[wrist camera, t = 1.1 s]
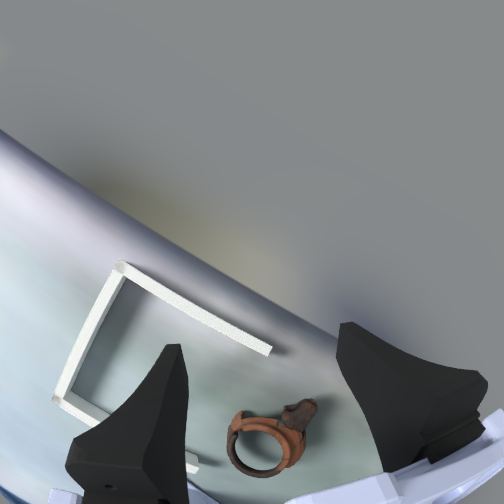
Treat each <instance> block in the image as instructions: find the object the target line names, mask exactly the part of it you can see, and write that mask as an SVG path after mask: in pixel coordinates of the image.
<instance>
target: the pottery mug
mask: <svg viewBox="0 0 504 504" xmlns="http://www.w3.org/2000/svg"><path fill="white" fill-rule="evenodd" d="M317 410H318V407H317V403H316V402H315V401H314V400H313V399H303V400H301V401H300V402H298V403H297V404H295V405H290V406H289V405H286V406H284V412H282V415H281V417H282V422H283V424H284V425H285V426H279V425H278V420H277V419H272V418H265V417H249V418H245V419H243V415H244V411H240V412H239V413H238V414H237V415H236V416H235V417H234V419H233V420H232V423H231V425H230V426H229V428H228V435H227V453H228V456H229V457H230V460H231V462H232V464H233V465H234V466H235V467H236V468H237V469H238V470H239V471H241V472H242V473H244V474H246V475H248V476H252V477H257V478H269V477H272V476H275V475H277V474H279V473H280V472H281V471H282V470H283V469H284V468H289V467H291V466H293V465H294V464H295V463H296V462H297V461H298V460H299V459H300V457H301V456H302V454H303V452H304V450H305V444H306V433H305V427H306V426H307V425H308V423H309V422H310V420H311V418H312V417H313V416H314V414H315V413H316V412H317ZM242 429H243V431H244V432H247V431H255V430H257V431H262V432H265V433H268V434H270V435H272V436H274V437H275V438H276V439H277V440H278V442H279V443H280V445H281V447H282V449H283V459H282V461H281V463H280V464H279V465H278V466H277V467H275V468H273V469H270V470H256V469H253V468H251V467H249V466H247V465H245V464H244V463H243V462H242V461H241V460H240V459H239V457H238V456H237V454H236V451H235V442H236V439H237V438H238V432H239V431H241V430H242Z"/></svg>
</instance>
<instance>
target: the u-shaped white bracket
mask: <svg viewBox="0 0 504 504" xmlns="http://www.w3.org/2000/svg"><path fill="white" fill-rule="evenodd" d="M126 278H128V279H130V280H132V281H133V282H135V283H136V284H138V285H140V286H141V287H143V288H144V289H146V290H148V291H149V292H151V293H153V294H154V295H156V296H158V297H159V298H161V299H163V300H164V301H166V302H168V303H169V304H171V305H173V306H174V307H176V308H178V309H180V310H181V311H183V312H185V313H187V314H188V315H190V316H192V317H194V318H195V319H197V320H199V321H201V322H203V323H204V324H206V325H208V326H210V327H212V328H213V329H215V330H217V331H219V332H221V333H223V334H225V335H226V336H228V337H230V338H232V339H234V340H236V341H238V342H240V343H242V344H244V345H246V346H248V347H250V348H251V349H253V350H255V351H257V352H259V353H261V354H263V355H265V356H268V354H269V352H270V351H271V349H272V346H271V345H269V344H267V343H266V342H264V341H262V340H260V339H258V338H256V337H254V336H253V335H251V334H249V333H247V332H245V331H243V330H241V329H239V328H237V327H236V326H234V325H232V324H230V323H228V322H226V321H225V320H223V319H221V318H219V317H217V316H216V315H214V314H212V313H210V312H208V311H207V310H205V309H203V308H201V307H200V306H198V305H196V304H194V303H193V302H191V301H189V300H187V299H186V298H184V297H182V296H181V295H179V294H177V293H176V292H174V291H172V290H170V289H169V288H167V287H165V286H164V285H162V284H161V283H159V282H157V281H156V280H154V279H152V278H151V277H149V276H147V275H146V274H144V273H143V272H141V271H139V270H138V269H136V268H135V267H133V266H131V265H130V264H128V263H127V262H125V261H123V260H121V259H119V260H118V262H117V264H116V265H115V267H114V269H113V271H112V273H111V274H110V276H109V278H108V280H107V282H106V283H105V285H104V287H103V289H102V291H101V293H100V295H99V296H98V298H97V300H96V302H95V304H94V306H93V308H92V310H91V312H90V314H89V316H88V318H87V320H86V322H85V324H84V326H83V328H82V330H81V332H80V334H79V336H78V339H77V341H76V343H75V345H74V347H73V349H72V351H71V354H70V356H69V358H68V360H67V363H66V365H65V367H64V370H63V372H62V374H61V377H60V379H59V382H58V384H57V386H56V389H55V391H54V394H53V396H52V399H51V401H52V402H54V403H55V404H56V405H58V406H59V407H61V408H62V409H64V410H65V411H67V412H69V413H70V414H72V415H73V416H75V417H76V418H78V419H80V420H81V421H83V422H85V423H86V424H88V425H90V426H91V427H95V426H96V425H98V424H99V423H101V422H102V421H103V420H105V419H106V418H107V417H109V416H110V414H108V413H106V412H104V411H103V410H101V409H99V408H98V407H96V406H94V405H93V404H91V403H89V402H88V401H86V400H84V399H83V398H81V397H80V396H78V395H77V394H75V393H73V392H72V391H71V388H72V386H73V384H74V382H75V379H76V377H77V375H78V373H79V370H80V368H81V366H82V364H83V362H84V359H85V357H86V355H87V353H88V351H89V349H90V347H91V345H92V343H93V341H94V339H95V337H96V335H97V333H98V331H99V329H100V327H101V325H102V323H103V321H104V319H105V317H106V315H107V313H108V311H109V309H110V307H111V305H112V304H113V302H114V300H115V298H116V296H117V294H118V292H119V291H120V289H121V287H122V285H123V283H124V282H125V280H126ZM185 458H186V471H187V472H190V473H192V474H196V472H197V471H198V469H199V463H198V458H197V455H195V454H192V453H190V452H187V451H185Z"/></svg>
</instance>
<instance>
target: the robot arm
mask: <svg viewBox="0 0 504 504" xmlns="http://www.w3.org/2000/svg"><path fill="white" fill-rule="evenodd" d="M336 359H337V362H338V365H339V367H340V370H341V372H342V375H343V377H344V378H345V380H346V382H347V384H348V386H349V387H350V389H351V391H352V393H353V395H354V396H355V398H356V400H357V402H358V403H359V405H360V407H361V409H362V411H363V413H364V415H365V417H366V420H367V422H368V425H369V427H370V430H371V432H372V435H373V438H374V441H375V444H376V447H377V450H378V453H379V456H380V460H381V463H382V467H383V471H384V472H383V473H379V474H375V475H371V476H368V477H366V478H363V479H359V480H356V481H353V482H350V483H347V484H343V485H340V486H336V487H332V488H329V489H325V490H321V491H317V492H313V493H309V494H305V495H302V496H298V497H295V498H293V499H291V500H289V501H287V502H285V503H284V504H455V503H456V502H458V501H459V500H461V499H462V498H464V497H465V496H467V495H468V494H470V493H471V492H472V491H474V490H475V489H476V488H478V487H479V486H481V485H482V484H483V483H485V482H486V481H488V480H489V479H490V478H491V477H493V476H494V475H495V474H497V473H498V472H499V471H501V469H502V468H503V467H504V411H503V410H502V409H498V410H497V411H495V412H494V413H492V414H491V415H489V416H488V417H486V418H485V419H484V420H483V421H482V422H480V421H479V419H478V417H479V416H480V413H479V412H478V411H477V408H478V406H479V405H480V403H481V401H482V400H483V398H484V396H485V394H486V392H487V389H488V382H487V381H486V380H485V379H484V377H483V376H482V375H480V373H479V372H478V371H475V370H464V369H457V368H452V367H447V366H442V365H438V364H435V363H431V362H428V361H426V360H423V359H420V358H417V357H415V356H413V355H410V354H408V353H406V352H404V351H402V350H400V349H398V348H396V347H394V346H392V345H390V344H388V343H387V342H385V341H383V340H382V339H380V338H378V337H377V336H375V335H373V334H372V333H370V332H369V331H367V330H366V329H364V328H362V327H361V326H359V325H357V324H356V323H354V322H348V323H341V324H340V330H339V338H338V346H337V353H336ZM188 399H189V387H188V374H187V370H186V366H185V362H184V358H183V354H182V349H181V345H180V344H167V345H166V346H165V347H164V349H163V351H162V352H161V354H160V356H159V357H158V359H157V361H156V362H155V364H154V365H153V367H152V368H151V370H150V371H149V373H148V374H147V376H146V377H145V379H144V380H143V381H142V382H141V384H140V385H139V386H138V388H137V389H136V390H135V391H134V393H133V394H132V395H131V396H130V397H129V398H128V399H127V400H126V401H125V402H124V403H123V404H122V405H121V406H120V407H119V408H118V409H117V410H116V411H115V412H113V413H112V414H111V415H110V416H109V417H107V418H106V419H105V420H103V421H102V422H101V423H99V424H98V425H96V426H95V427H93V428H92V429H90V430H88V431H86V432H85V433H83V434H81V435H79V436H78V437H76V438H74V439H73V442H72V444H71V446H70V450H69V453H68V457H67V460H66V464H65V468H66V471H67V472H68V474H69V475H70V476H71V477H72V478H73V479H74V480H75V481H76V482H77V483H78V484H79V485H80V486H81V487H82V488H83V489H84V490H85V491H84V496H81V495H79V494H76V493H72V492H68V491H64V490H59V489H55V488H52V489H51V493H50V497H49V501H48V504H219V503H218V502H216V501H215V500H213V499H212V498H210V497H209V496H207V495H206V494H205V493H203V492H202V491H200V490H199V489H197V488H196V487H195V486H193V485H192V484H191V483H189V482H188V481H187V473H186V458H185V432H186V421H187V410H188Z"/></svg>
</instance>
